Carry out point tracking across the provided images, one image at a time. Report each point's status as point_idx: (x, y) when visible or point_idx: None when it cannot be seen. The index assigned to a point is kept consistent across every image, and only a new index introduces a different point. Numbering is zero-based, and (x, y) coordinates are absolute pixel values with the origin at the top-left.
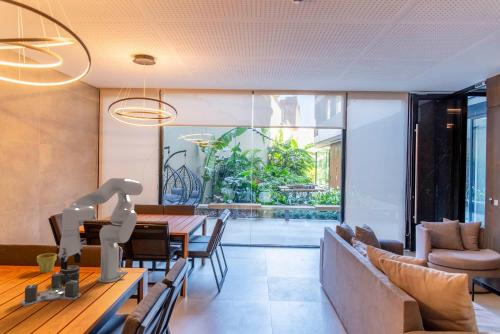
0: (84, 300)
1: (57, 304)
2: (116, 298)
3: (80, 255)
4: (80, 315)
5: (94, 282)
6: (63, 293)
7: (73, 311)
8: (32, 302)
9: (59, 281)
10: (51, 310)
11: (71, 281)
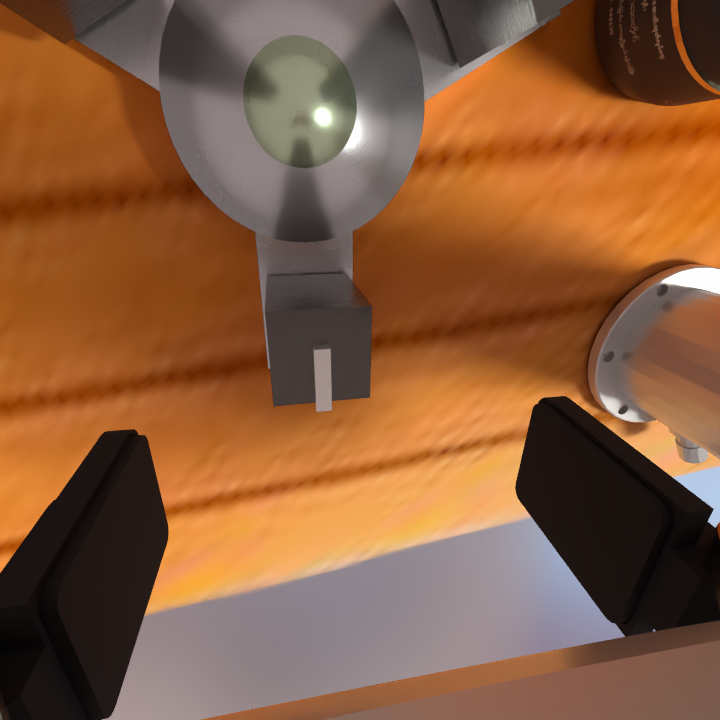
0: (276, 428)
1: (148, 293)
2: (346, 561)
3: (644, 627)
4: None
5: (605, 279)
6: (294, 239)
7: None
8: None
9: (486, 31)
10: (34, 329)
11: (314, 358)
